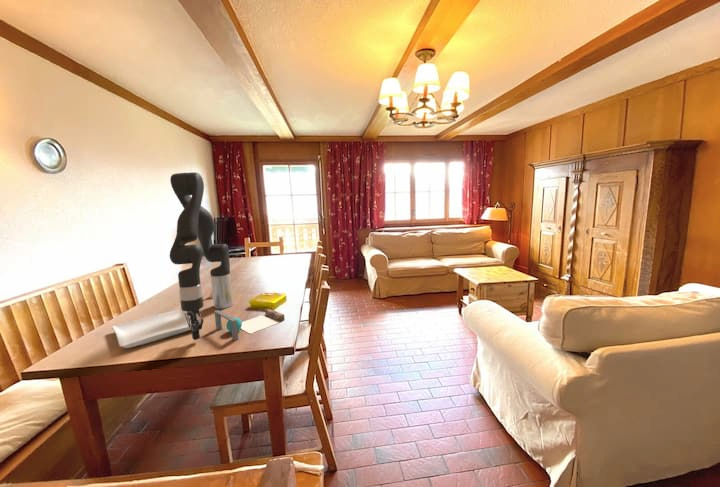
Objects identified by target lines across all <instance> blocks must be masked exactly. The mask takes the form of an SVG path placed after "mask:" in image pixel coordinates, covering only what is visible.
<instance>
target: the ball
mask: <svg viewBox="0 0 720 487" xmlns="http://www.w3.org/2000/svg"><path fill="white" fill-rule="evenodd" d="M233 318H234V319H236V320H237V328H238V331H240V330H241V329H240V328H241V326H242V322H243V321H242V320H241V319H240V318H239V317H233ZM226 329H227V330H228V332H230V333H232V331H231V321H229V320H227V322H226Z"/></svg>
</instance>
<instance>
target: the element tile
mask: <svg viewBox="0 0 720 487" xmlns="http://www.w3.org/2000/svg"><path fill="white" fill-rule="evenodd" d="M287 298H288V297H287V294H286V293H282V292H281V293H280V292H262V293H260V294H258V295H257V296H255V297H253V298H251V299H249V301H248V304H249V305H248V308H249V309H253V310H254V309H255V310H264V311H265V310H266V309H271V310H274V311H275V310H276V309H278V308H279V307H281V306H282V305H283V304H285V303H286V302H287Z"/></svg>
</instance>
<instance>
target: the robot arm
mask: <svg viewBox="0 0 720 487" xmlns="http://www.w3.org/2000/svg"><path fill="white" fill-rule="evenodd" d="M169 181H170V186H171V188H172V190H173V192H174V194H175V196H176V197H177V199H178V200H179V202H180V203H181V204H180V205H182V207H183V210H182V211H181V212H180V214H179V216H178V218H177V223H176V236H175V239H174V240H173V243H172V246H171V248H170V252H169V259H170V261H171V263H172V264H174V265H189V264H191V267H190V268H186V269H182V270H180V271H179V272H178V274H177V275H178V276H177V277H178V287H179V289H178V290H179V300H180V310H182V311H186V312H187V313H186V314H185V317H186V320H187V323H188V326H189V327H190V329H191V330H190V331H191V337H192V338H191V339H193V340H194V341H196V340H199V339H200V338H201V335H200V334H201V333H200V330H202V328H203V325H204V318H201V317H202V314H201V312H200V310H201V309H202V308H203V307H204V306H205V305H204V296H203V288H202V285H201V284H202V283H201V275H200V273H201V272H200V270H201V264H202V258H203V255H204V257H205V260H207V262H209V263H219V262H220V265H218V266H217V267H214V268H212V269H211V270H210V271H209V273H210V282H211V283H210V284H211V293H213V298H212V301H213V308H214V309H216V310H219V309H226V308H230V307H231V306H233V305H234V302H233V291H232V281H231V280H232V278H231V270H230V269H231V267H230V266H231V264H230V250H229V245H228V244H226V243H212V242H211V237H212V236H213V234H214V232H215V229H216V225H215V224H216V223H215V221H214V219H213V215H212V214H211V212H209V211H208V210H207V208H205V207H203V206H202V202H203V198H204V197H203V196H204V189H205V184H204V183H205V182H204V179H203V176H202V175H201V174H200V173H199V172H194V171H193V172H179V173H178V172H177V173H173V174H172V175H171V176H170V180H169ZM197 239H198V241H199V244H200V245H198V244H189V243H192V242H195V241H197Z"/></svg>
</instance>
